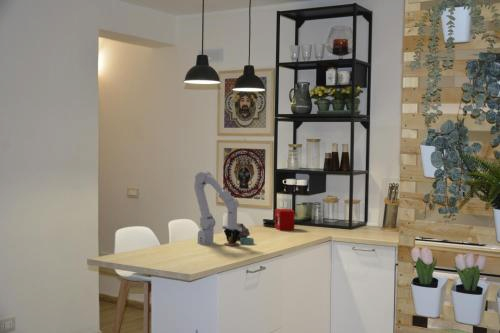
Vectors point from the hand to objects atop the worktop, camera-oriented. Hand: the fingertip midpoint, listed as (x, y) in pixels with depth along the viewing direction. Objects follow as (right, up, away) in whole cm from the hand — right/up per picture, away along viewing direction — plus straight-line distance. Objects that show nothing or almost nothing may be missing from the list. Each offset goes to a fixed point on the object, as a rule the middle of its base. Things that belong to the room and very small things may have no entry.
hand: (231, 242), depth 369 cm
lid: (0, -2, 0) cm, 2 cm away
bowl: (+9, -2, +6) cm, 11 cm away
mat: (0, -2, 0) cm, 2 cm away
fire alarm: (+36, -1, +83) cm, 90 cm away
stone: (+3, -2, +26) cm, 27 cm away
